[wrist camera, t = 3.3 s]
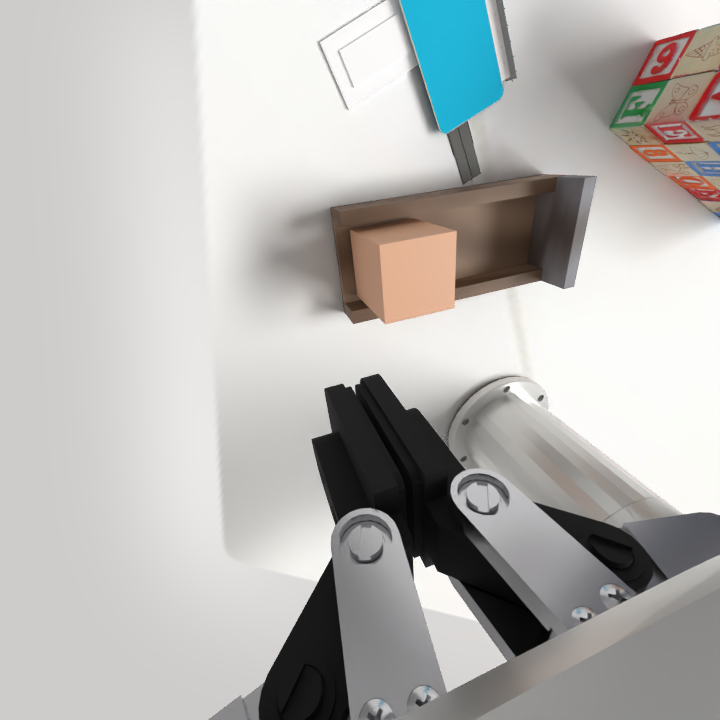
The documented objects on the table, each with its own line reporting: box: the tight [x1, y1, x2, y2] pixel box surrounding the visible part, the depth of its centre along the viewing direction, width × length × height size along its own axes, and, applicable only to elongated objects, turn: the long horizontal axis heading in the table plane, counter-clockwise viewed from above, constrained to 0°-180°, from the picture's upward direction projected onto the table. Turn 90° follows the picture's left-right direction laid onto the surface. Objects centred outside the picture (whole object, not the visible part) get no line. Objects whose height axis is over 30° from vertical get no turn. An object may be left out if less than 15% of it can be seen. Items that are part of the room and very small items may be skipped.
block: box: [350, 218, 457, 324], centre depth 25 cm, size 5×5×6 cm
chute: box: [331, 174, 597, 324], centre depth 27 cm, size 8×18×5 cm, turn 96°
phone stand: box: [320, 0, 517, 184], centre depth 22 cm, size 20×12×2 cm, turn 28°
